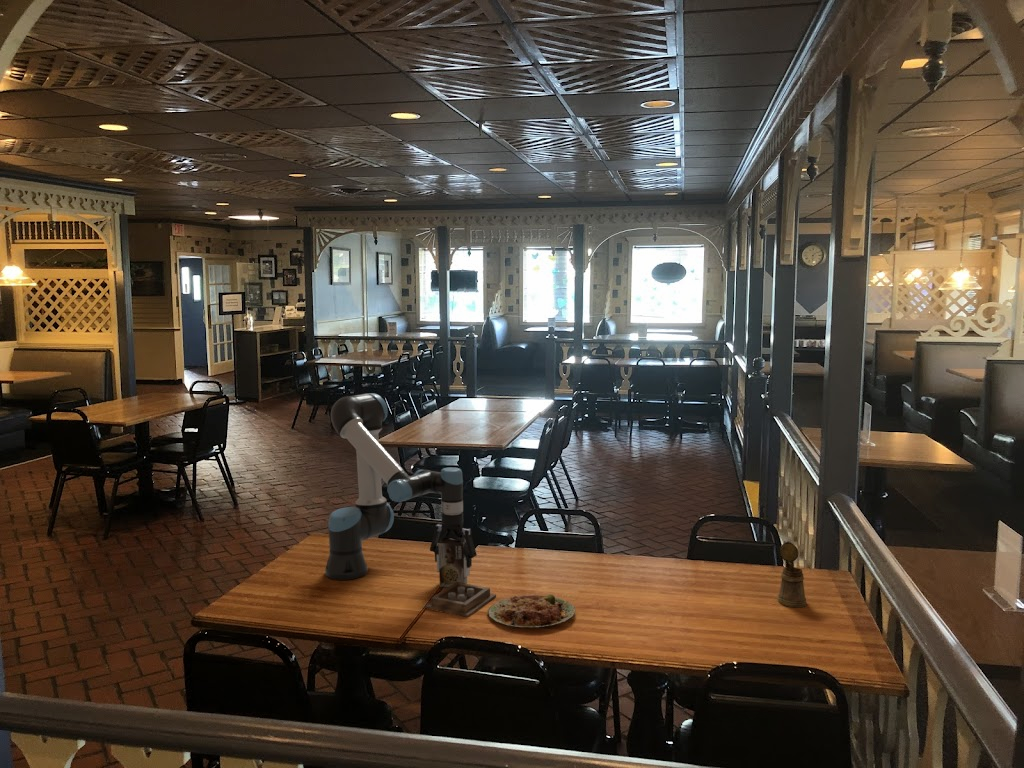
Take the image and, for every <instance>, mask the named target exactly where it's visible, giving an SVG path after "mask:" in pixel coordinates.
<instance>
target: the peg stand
mask: <svg viewBox="0 0 1024 768" xmlns="http://www.w3.org/2000/svg"><path fill="white" fill-rule="evenodd" d="M496 597H497V594H495V593H491V589H490V587H486V586H482V585H475V584H470V583H466V584H465V583H460V582H456V583H454V584H453V585H451V586H450V587H445V589H444V590H442V591H440V592H438V593H436V595H434V596H432V597H431V599H430V600H431V601H430V602H429V603H428V604H426V605H425V606H424V609H425V608H428V609H427V610H430V609H433V610H432V611H435V610H438V611H437V612H439V611H442V612H441V613H444V612H447V613H446V614H449V613H451V614H450V615H454V614H455V616H458V615H459V617H463V618H469V617H471V616H472V615H473V614H475V613H476V612H477V611H479V610H480V609H481V608H483V607H484V606H485V604H486V605H487V604H488V603H491V601H492V600H494V599H495V598H496ZM482 606H483V607H482ZM478 609H479V610H478Z"/></svg>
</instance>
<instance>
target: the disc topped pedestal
mask: <svg viewBox="0 0 1024 768" xmlns="http://www.w3.org/2000/svg"><path fill="white" fill-rule="evenodd" d="M779 555H780V558H781V559H782V560H783V561H784V562H785V567H783V568H782V571H781V574H780V578H781V582H780V587H779V593H778V594H777V602H778V603H779V604H780V605H782V606H785V607H790V608H803V607H806V606H807V604H808V603H807V598H806V594H805V586H804V584H805V583H804V580H805V577H804V572H803V570H802V568H798V567H795V564H794V561H796V560H797V559H798V558H799V549H798V548H797V546H796V545H795V544H794V543H792V542H791V541H789V540H788V541H785V542H784V543H783V544H781V546H779Z"/></svg>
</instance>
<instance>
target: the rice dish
mask: <svg viewBox="0 0 1024 768" xmlns="http://www.w3.org/2000/svg"><path fill="white" fill-rule="evenodd" d="M563 610H564V611H565V613H564V614H565V615H563V613H562V612H564V611H563ZM575 613H576V607H575V606H574V605H573V604H572V603H571V602H569V601H568V600H565V599H562V598H558V597H555V596H554V594H547V595H542V594H541V595H539V594H538V595H537V594H532V595H531V594H529V595H526V594H523V595H517V596H516V595H514V596H511V597H508V598H504V599H501V600H499V601H497V602H496V603H493V604H492V605H491V606H490V608H488V610H487V615H488V617H489V618H491V619H492V620H494V621H495V622H497V623H500V624H503V625H506V626H511V627H519V628H541V627H542V628H543V627H550V626H555V625H558V624H562V623H565V622H567V621H568V620H570V619H571V618H572V617H573V616H574V615H575ZM507 622H509V623H510V624H508V623H507Z"/></svg>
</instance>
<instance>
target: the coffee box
mask: <svg viewBox="0 0 1024 768" xmlns="http://www.w3.org/2000/svg"><path fill="white" fill-rule="evenodd" d="M464 540H465V537H464ZM465 542H466V540H465ZM465 542H462V543H458V542H457V541H456V540H455V539H452V538H450V539H449V538H447V539H445V540H441V539H439V541H438V544H437V545H439V572H438V573H439V588H448V587H450V586H451V585H453V584H454V583H456V582H460V583H465V584H468V576H467V577H464V559H465V558H466V557H465V555H464V543H465Z"/></svg>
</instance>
